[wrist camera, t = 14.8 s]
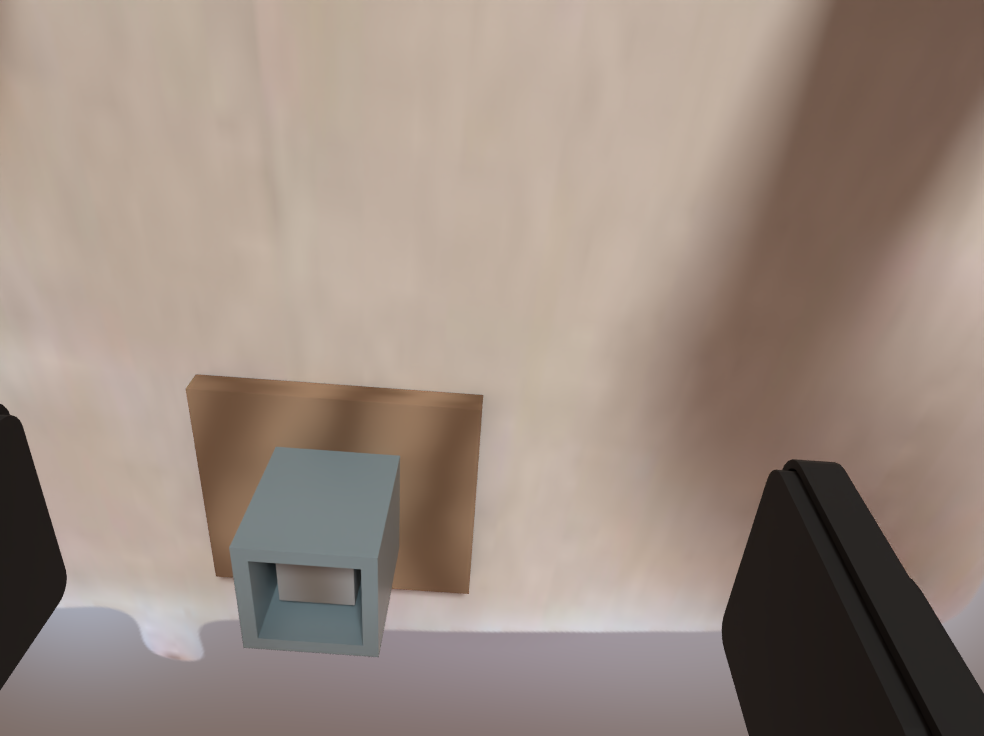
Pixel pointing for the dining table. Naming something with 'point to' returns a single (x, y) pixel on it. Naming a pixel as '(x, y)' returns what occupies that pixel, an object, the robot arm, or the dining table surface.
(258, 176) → the dining table surface
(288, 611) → the duct sleeve
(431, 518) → the base
